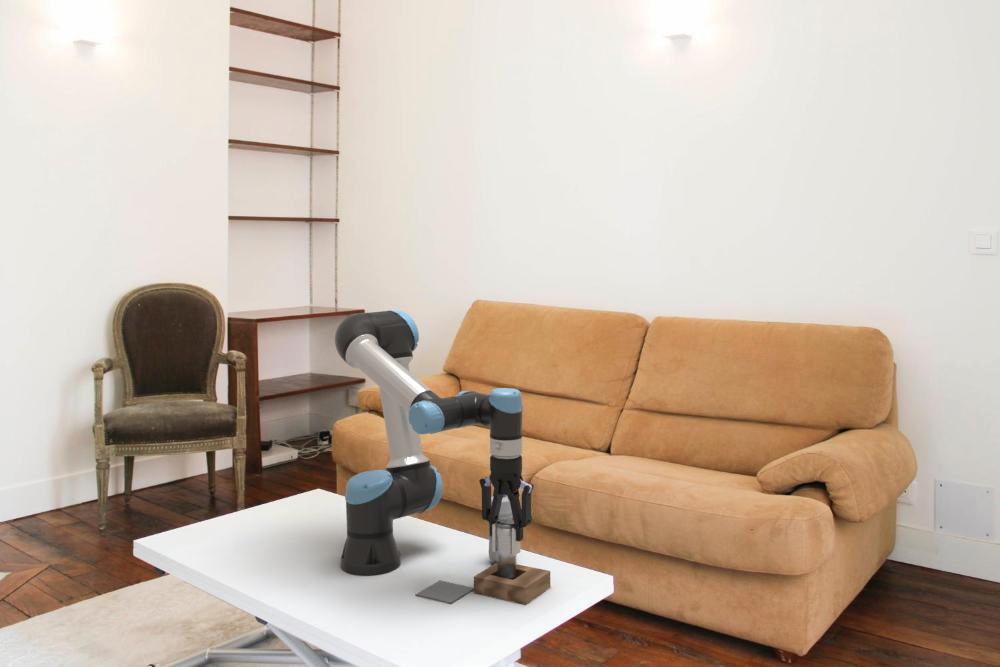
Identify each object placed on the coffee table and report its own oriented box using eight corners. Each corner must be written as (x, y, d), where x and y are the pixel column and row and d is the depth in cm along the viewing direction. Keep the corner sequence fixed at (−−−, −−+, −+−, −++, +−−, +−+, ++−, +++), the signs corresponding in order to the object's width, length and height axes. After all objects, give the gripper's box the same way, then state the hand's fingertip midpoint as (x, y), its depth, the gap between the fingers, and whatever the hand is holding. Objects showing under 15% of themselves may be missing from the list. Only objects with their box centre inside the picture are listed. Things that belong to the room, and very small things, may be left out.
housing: (473, 593, 215) (473, 576, 215) (499, 576, 225) (499, 560, 225) (525, 604, 208) (525, 587, 207) (550, 587, 218) (550, 570, 218)
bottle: (511, 567, 232) (510, 490, 229) (485, 565, 233) (484, 488, 231) (516, 558, 238) (515, 482, 236) (491, 556, 239) (490, 481, 237)
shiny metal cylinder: (493, 576, 216) (492, 523, 215) (503, 570, 220) (502, 518, 219) (510, 579, 214) (509, 526, 213) (519, 573, 218) (519, 521, 216)
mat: (415, 595, 214) (415, 594, 214) (439, 581, 222) (439, 580, 222) (451, 604, 209) (451, 602, 209) (474, 589, 217) (474, 587, 217)
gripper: (465, 453, 215) (466, 550, 218) (531, 463, 206) (531, 563, 209) (482, 447, 222) (482, 540, 224) (547, 456, 213) (546, 553, 215)
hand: (506, 551), depth 216 cm, fingers closed on shiny metal cylinder, 5 cm apart
